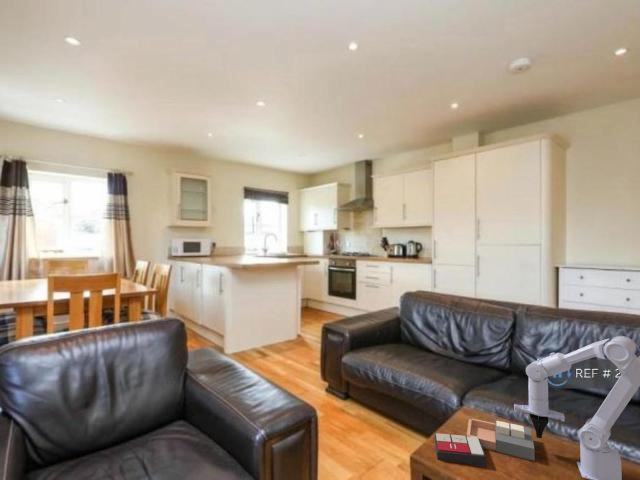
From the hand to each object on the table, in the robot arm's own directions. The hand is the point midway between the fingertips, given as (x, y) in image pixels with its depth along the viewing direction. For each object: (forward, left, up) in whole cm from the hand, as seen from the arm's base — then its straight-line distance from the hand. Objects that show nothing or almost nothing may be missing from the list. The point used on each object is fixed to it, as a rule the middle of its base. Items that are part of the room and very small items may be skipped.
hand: (538, 436), depth 114 cm
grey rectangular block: (+8, 0, -5) cm, 9 cm away
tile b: (+11, 0, -1) cm, 11 cm away
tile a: (+6, 0, -1) cm, 7 cm away
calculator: (+25, +14, -6) cm, 29 cm away
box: (+18, 0, -5) cm, 19 cm away
